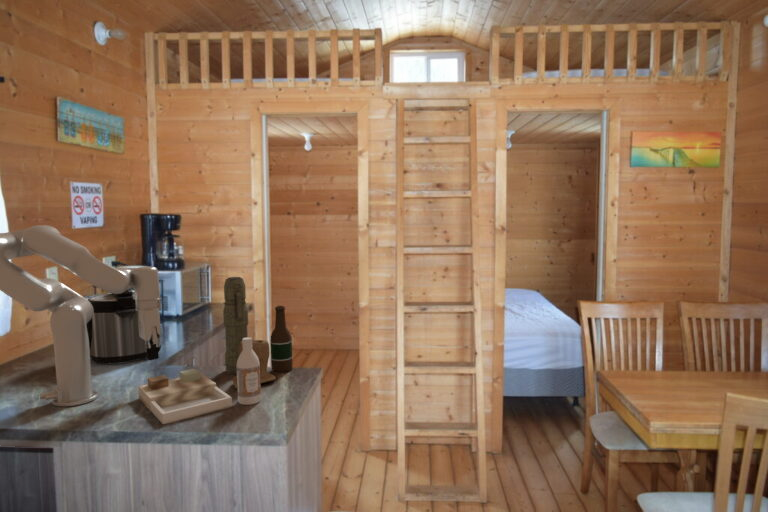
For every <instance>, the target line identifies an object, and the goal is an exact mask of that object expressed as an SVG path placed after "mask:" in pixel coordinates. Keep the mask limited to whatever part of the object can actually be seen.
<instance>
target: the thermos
mask: <svg viewBox="0 0 768 512" xmlns="http://www.w3.org/2000/svg"><path fill="white" fill-rule="evenodd" d="M223 294H224V295H223V296H224V297H223V298H224V307H223V311H222V312H223V327H224V329H225V330H224V331H225V346H226V347H225V353H224V365H225V372H227V374H228V373H230V374H229V375H237V360H238V358H239V345H240V343H241V342H242V339H243V338H247V337H249V336H248V333H249V332H248V325H249V309H248V306H247V302H246V298H247V297H246V296H247V293H246V284H245V280H244V278H242V277H241V276H233V277H227V278H225V281H224V285H223Z"/></svg>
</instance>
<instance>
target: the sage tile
mask: <svg viewBox="0 0 768 512" xmlns="http://www.w3.org/2000/svg"><path fill="white" fill-rule="evenodd" d="M200 373H201V371H200V370H198V369H196V368H191V369H187V370H186V369H185V370H181V371H179V378H180V379H181V380H182V381H183V382H185V383H186V382H191V381H195V380H200Z"/></svg>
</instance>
